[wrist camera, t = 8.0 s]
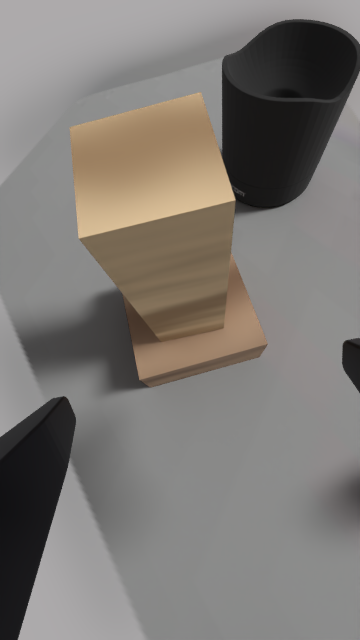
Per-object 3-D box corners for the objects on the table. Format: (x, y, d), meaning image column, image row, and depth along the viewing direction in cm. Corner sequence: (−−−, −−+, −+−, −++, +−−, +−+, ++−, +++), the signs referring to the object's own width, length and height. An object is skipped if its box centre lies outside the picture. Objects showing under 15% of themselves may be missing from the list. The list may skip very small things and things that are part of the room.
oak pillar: (223, 328, 19) (235, 200, 8) (161, 341, 20) (78, 238, 8) (209, 272, 21) (200, 92, 9) (151, 285, 21) (69, 127, 9)
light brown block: (258, 358, 22) (267, 343, 19) (151, 388, 23) (139, 379, 19) (224, 266, 26) (226, 239, 22) (131, 293, 26) (117, 270, 22)
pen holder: (216, 149, 31) (218, 29, 22) (304, 139, 30) (346, 10, 21) (221, 216, 28) (226, 109, 18) (321, 208, 27) (379, 91, 17)
